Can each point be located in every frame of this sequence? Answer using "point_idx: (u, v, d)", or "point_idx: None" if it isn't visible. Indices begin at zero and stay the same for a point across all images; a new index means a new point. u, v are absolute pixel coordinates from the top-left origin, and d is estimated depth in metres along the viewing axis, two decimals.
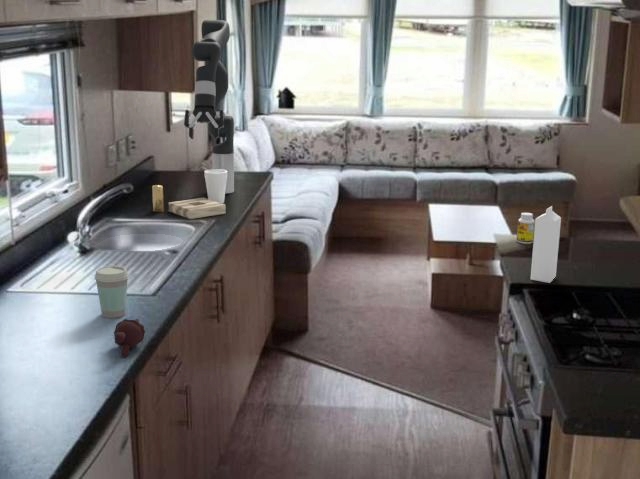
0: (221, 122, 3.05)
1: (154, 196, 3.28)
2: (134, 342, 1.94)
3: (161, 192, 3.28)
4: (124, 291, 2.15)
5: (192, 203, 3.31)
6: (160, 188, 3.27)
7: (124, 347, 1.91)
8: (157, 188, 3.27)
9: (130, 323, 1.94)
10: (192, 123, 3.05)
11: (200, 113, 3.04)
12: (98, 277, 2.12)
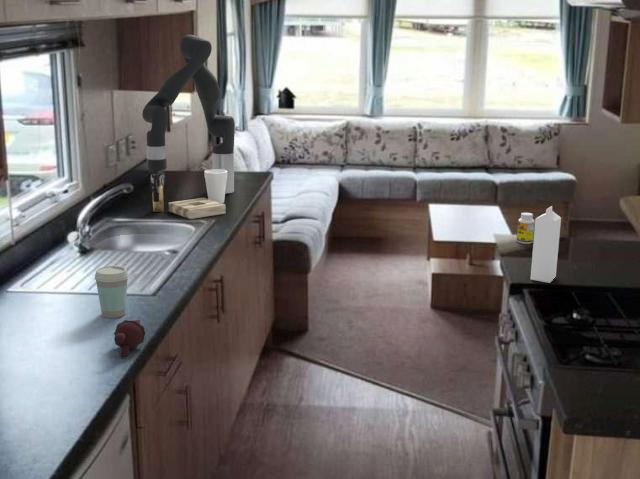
0: None
1: None
2: (134, 343, 1.93)
3: (161, 192, 3.28)
4: (124, 291, 2.15)
5: (192, 203, 3.31)
6: (160, 188, 3.27)
7: (124, 348, 1.90)
8: None
9: (130, 324, 1.94)
10: None
11: None
12: (98, 277, 2.12)
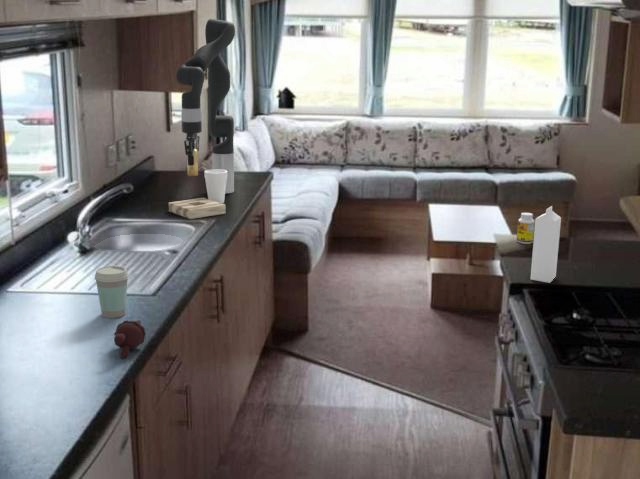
0: None
1: None
2: (134, 344, 1.93)
3: (196, 156, 3.23)
4: (124, 291, 2.15)
5: (192, 203, 3.31)
6: (195, 151, 3.22)
7: (124, 349, 1.90)
8: None
9: (130, 325, 1.93)
10: None
11: None
12: (98, 277, 2.12)
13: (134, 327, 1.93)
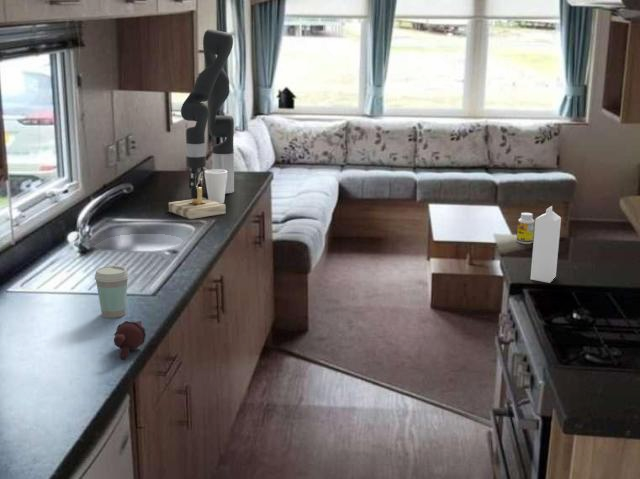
0: None
1: None
2: (134, 344, 1.92)
3: (200, 193, 3.27)
4: (124, 291, 2.15)
5: None
6: (199, 189, 3.26)
7: (123, 349, 1.90)
8: None
9: (131, 325, 1.93)
10: None
11: None
12: (98, 277, 2.12)
13: (134, 328, 1.93)
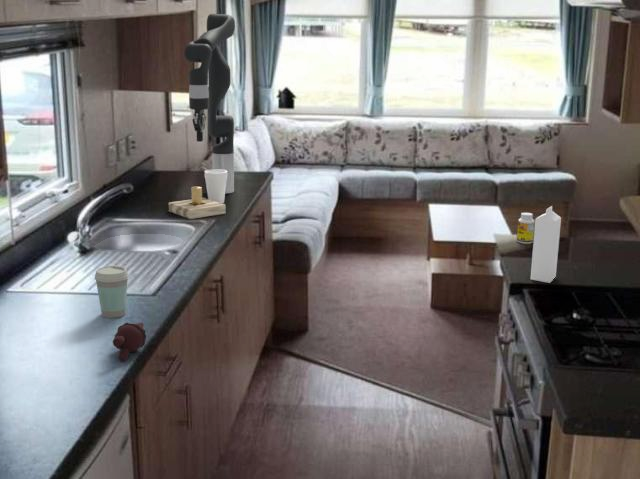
0: None
1: (193, 197, 3.26)
2: (134, 346, 1.91)
3: (200, 193, 3.27)
4: (124, 291, 2.15)
5: None
6: (199, 189, 3.26)
7: (123, 351, 1.89)
8: (196, 189, 3.25)
9: (131, 327, 1.92)
10: None
11: None
12: (98, 277, 2.12)
13: (134, 329, 1.92)
